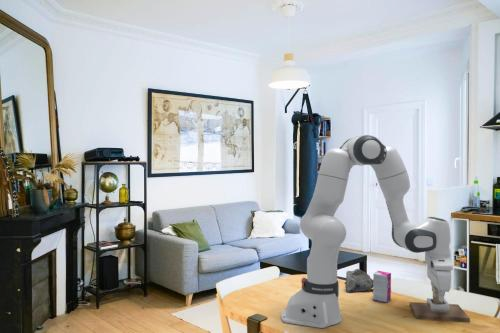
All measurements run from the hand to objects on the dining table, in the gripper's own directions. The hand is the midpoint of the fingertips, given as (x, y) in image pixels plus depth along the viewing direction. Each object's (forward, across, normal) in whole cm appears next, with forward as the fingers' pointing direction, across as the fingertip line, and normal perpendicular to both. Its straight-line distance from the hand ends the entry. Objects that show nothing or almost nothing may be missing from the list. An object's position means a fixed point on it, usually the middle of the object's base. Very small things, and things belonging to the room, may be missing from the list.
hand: (437, 296), depth 156 cm
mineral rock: (+7, -23, -27) cm, 36 cm away
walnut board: (+7, 0, 0) cm, 7 cm away
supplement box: (+7, -12, -19) cm, 23 cm away
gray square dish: (+5, 0, 0) cm, 5 cm away
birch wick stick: (+5, 0, 0) cm, 5 cm away
